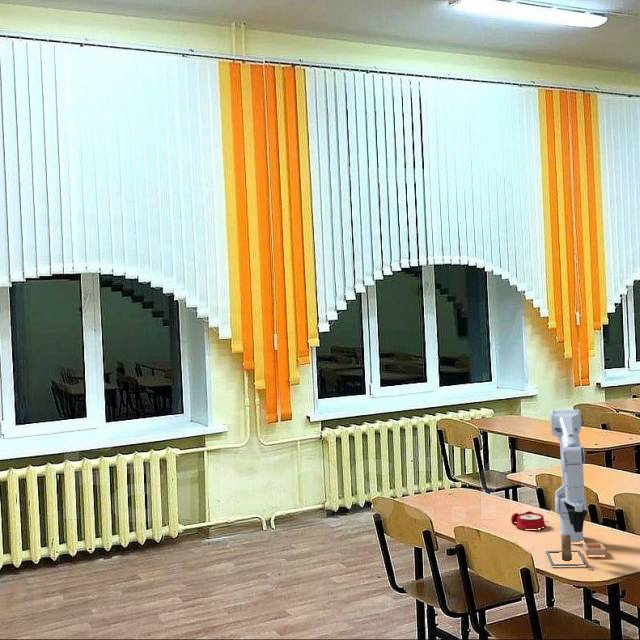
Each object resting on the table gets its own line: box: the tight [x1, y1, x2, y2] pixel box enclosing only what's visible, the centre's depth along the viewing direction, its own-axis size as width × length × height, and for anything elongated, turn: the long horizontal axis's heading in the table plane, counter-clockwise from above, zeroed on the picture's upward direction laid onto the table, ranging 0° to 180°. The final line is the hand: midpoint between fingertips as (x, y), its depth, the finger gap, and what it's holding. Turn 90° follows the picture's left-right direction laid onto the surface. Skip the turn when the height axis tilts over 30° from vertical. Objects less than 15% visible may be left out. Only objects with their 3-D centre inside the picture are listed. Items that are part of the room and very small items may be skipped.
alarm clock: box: [510, 510, 548, 530], centre depth 305 cm, size 10×6×15 cm
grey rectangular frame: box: [545, 550, 588, 567], centre depth 265 cm, size 14×11×1 cm
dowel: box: [560, 534, 572, 561], centre depth 264 cm, size 3×3×8 cm
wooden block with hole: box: [582, 542, 607, 556], centre depth 269 cm, size 6×6×3 cm
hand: (576, 528), depth 265 cm, fingers open, 7 cm apart
